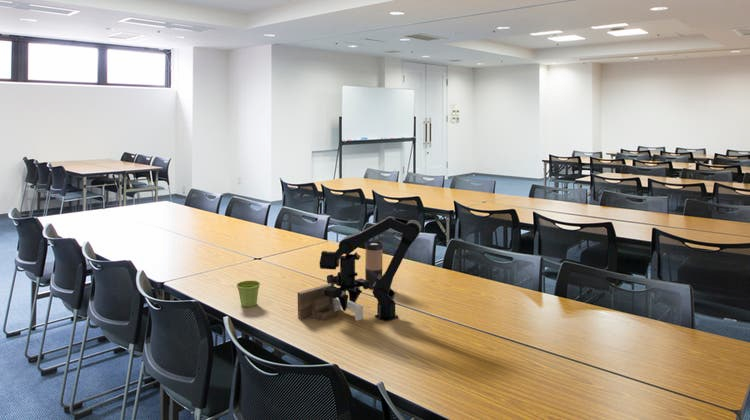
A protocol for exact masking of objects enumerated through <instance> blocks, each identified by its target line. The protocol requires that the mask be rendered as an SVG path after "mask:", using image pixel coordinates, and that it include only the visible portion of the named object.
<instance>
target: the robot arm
mask: <svg viewBox="0 0 750 420" xmlns="http://www.w3.org/2000/svg"><path fill="white" fill-rule="evenodd" d="M389 229H390V230H393V231H396V232H398V233H400V234H401V238H400V243H399V245H398V246H397V249H396V250H395V252H394V254H393V256H392V258H391V261H390V263H389V264H388V266H387V268H386V270H385V272H384V274H383V273H382V276H381V275H380V274H379V276H378V277H377V280H376V282H375V283H374V285H373V287H372V288H374V289H372V295H373V297H374V298H375V299H376V301H377V307H376V309H377V312H376V313H377V314H375V315H374V317H375V318H377V319H379V320H383V321H384V322H388V321H392V320H394V319H396V318H399V315H398V314H396V302H395V297H396V294H397V293H396V292H395V291H394V290H393V289H392V284H393V281H394V277H395V275H396V273H397V271H398V269H399V268H400V265H401V264H402V261H403V260H404V257H405V255H406V254H407V251H408V250H409V248H410V247H411V245H413V243H414V242H415V241H416V239H417V238H418V236H419V235H420V232H421V229H422V225H421V222H420V221H418V220H417V219H409V220H408V219H405V218H399V217H396V216H392V215H390V216H387V217H386V218H385V219H383V220H381V221H379V222H378V223H375V224H373V225H372V226H370V227H368V228H366V229H363V230H362V231H361V232H357V233H353V234H350V235H347V236H344V238H343V239H341V240H340V241H339V242H338V248H337V249H336V250H335V251H327V250H322V251H321V253H320V258H319V269H321V270H335V271H336V270H337V268H339V271H338V272H337V275H334V274H328V275H326V283H327V284H331V285H334V286H331V287H327V288H325V289H324V295H326V296H328V297H331V298H338V299H339V301H340V303H341V306H342V307H341V308H342V309H341V310H342V311H344V312H346V311H347V309H346V307H347V301H348V300H349V301H351V302H354V303H356V302H357V300H358V298H359V297H360V294H361V293H363V290H370V289H369V288H370V282H369V281H368V280H366V278H357V279H356V277H357V276H358V272H356V261H359V260H360V259H361V255H360V254H358V252H357V251H355V250H357V249H358V248H359V247H361V245H362V244H364V243H366V242H368V241H370V240H371V239H373V238H375V237H377V236H378V235H380V234H383V233H384V232H386V231H388V230H389ZM354 251H355V252H354ZM353 252H354V253H353ZM335 285H336V286H335ZM361 287H362V288H363V290H362V289H360V288H361ZM347 293H348V294H347Z"/></svg>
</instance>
